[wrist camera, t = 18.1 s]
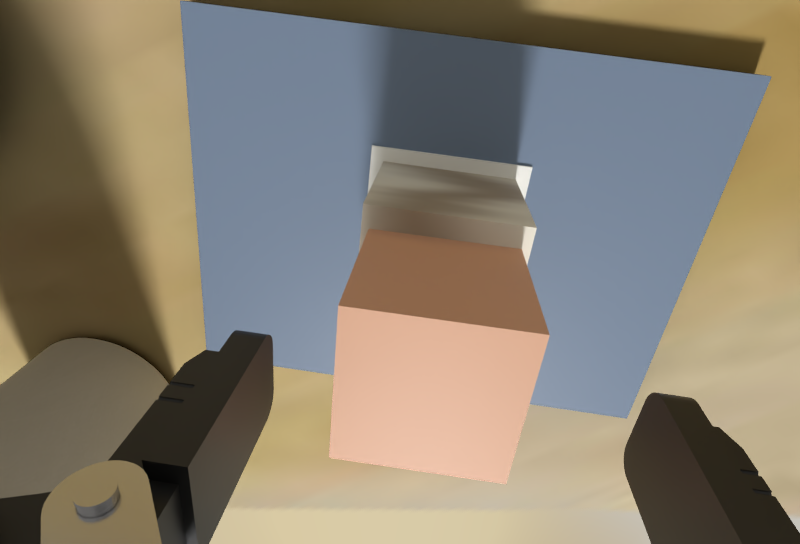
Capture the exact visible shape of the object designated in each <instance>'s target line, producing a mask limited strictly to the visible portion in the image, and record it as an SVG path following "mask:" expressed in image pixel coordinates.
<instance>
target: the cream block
mask: <svg viewBox="0 0 800 544" xmlns="http://www.w3.org/2000/svg"><path fill="white" fill-rule="evenodd" d="M368 229H376V230H383V231H391V232H398V233H406V234H413V235H421V236H428V237H436V238H443V239H450V240H458V241H465V242H473V243H480V244H488V245H495V246H503V247H510V248H518V249H522V251H523V254H524V257H525V261H526V264H528V261H529V257H530V253H531V249H532V245H533V241H534V237H535V233H536V229H537V227H536V225H535V222H534V220H533V218H532V216H531V213H530V211H529V209H528V206H527V204H526V202H525V199H524V197H523V195H522V193H521V190H520V188H519V186H518V183H517V181H516V179H509V178H502V177H495V176H488V175H480V174H473V173H466V172H459V171H451V170H444V169H437V168H429V167H422V166H415V165H408V164H400V163H393V162H386V161H383V163H382V165H381V168H380V170H379V172H378V174H377V176H376V178H375V180H374V182H373V184H372V186H371V188H370V190H369V192H368V194H367V196H366V199H365V201H364V203H363V210H362V222H361V233H360V245H359V252H360V249H361V247H362V244H363V242H364V239H365V237H366V234H367V232H368Z"/></svg>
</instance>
